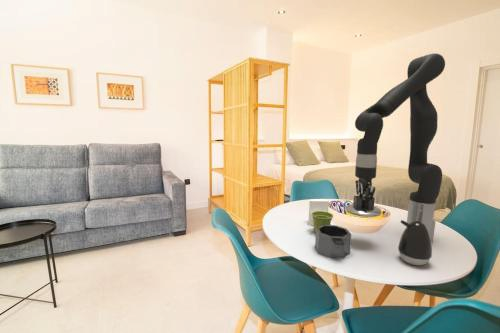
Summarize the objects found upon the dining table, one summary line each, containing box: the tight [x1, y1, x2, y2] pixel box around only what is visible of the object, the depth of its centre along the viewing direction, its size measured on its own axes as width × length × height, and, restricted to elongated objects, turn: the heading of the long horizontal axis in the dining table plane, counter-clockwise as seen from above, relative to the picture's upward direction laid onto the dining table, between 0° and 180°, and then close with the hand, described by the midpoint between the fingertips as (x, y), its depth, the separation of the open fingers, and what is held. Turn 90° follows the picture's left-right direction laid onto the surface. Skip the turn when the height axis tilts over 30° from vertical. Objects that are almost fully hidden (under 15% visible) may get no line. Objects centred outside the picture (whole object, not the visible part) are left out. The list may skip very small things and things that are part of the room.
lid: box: [345, 195, 382, 218], centre depth 105 cm, size 13×13×6 cm
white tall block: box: [308, 198, 330, 227], centre depth 129 cm, size 9×9×12 cm
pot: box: [314, 224, 352, 259], centre depth 101 cm, size 12×17×8 cm
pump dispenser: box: [397, 219, 433, 266], centre depth 93 cm, size 10×10×15 cm
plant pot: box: [312, 211, 334, 234], centre depth 118 cm, size 9×9×9 cm
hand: (363, 207), depth 105 cm, fingers closed on lid, 3 cm apart
